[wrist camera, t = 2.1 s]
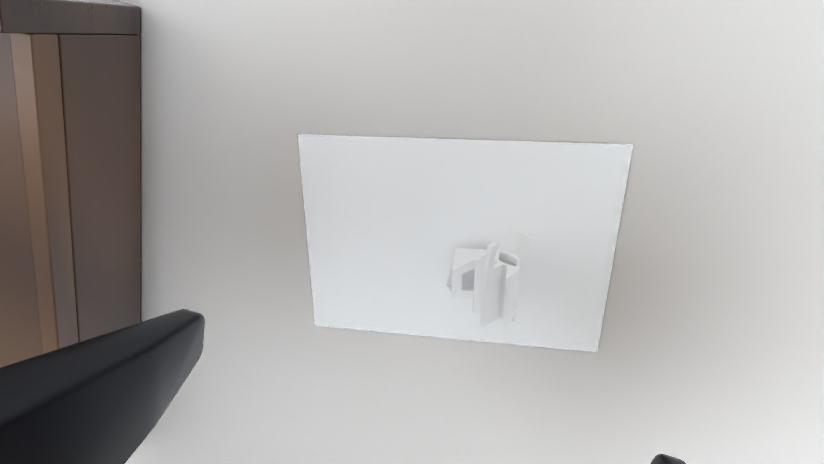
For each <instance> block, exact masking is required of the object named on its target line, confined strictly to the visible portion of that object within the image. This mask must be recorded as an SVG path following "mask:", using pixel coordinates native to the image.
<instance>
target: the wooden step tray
mask: <svg viewBox="0 0 824 464" xmlns="http://www.w3.org/2000/svg"><path fill="white" fill-rule="evenodd" d="M138 34H140V7H138V6H135V5H131V4H127V3H123V2H120V1H116V0H0V368H1V367H4V366H7V365H10V364H13V363H16V362H19V361H23V360H26V359H29V358H32V357H35V356H38V355H41V354H44V353H48V352H51V351H54V350H57V349H60V348H63V347H66V346H69V345H72V344H75V343H79V342H82V341H85V340H88V339H91V338H94V337H97V336H100V335H103V334H107V333H110V332H113V331H116V330H119V329H122V328H125V327H128V326H131V325H134V324H138V323H140V36H139V35H138Z"/></svg>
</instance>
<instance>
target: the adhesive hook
mask: <svg viewBox="0 0 824 464" xmlns="http://www.w3.org/2000/svg"><path fill="white" fill-rule="evenodd" d="M530 242H531V239H530V238H529V236H528V235H527V234H525V233H521V232H517V231H512V230H507V231H506V232H505V234H504V236H503V238H502V240H501V242H500V244H498V243H497V242H495V241H493V242H491V243H488V244H487V245H486V249H485V248H469V247H455V248H454V252H453V256H452V260H451V264H450V268H449V271H448V275H447V279H446V283H445V287H444V291H445V292H446V293H447V294H448V295H449V297H450V298H451V299H460V300H472V309H471V311H472V313H473V314H479V325H480V326H481V327H483V328H484V327H486V326H488V325H489V324H491V323H492V322H494V321H496V320H497V319H500V320H502V321H501V333H500V336H501V337H502V336H503V334H504V333H505V331H506V330H507V328H508V326H509V325H510V323H511V322H512V323H515V322H516V316H517V307H518V294H519V281H520V268H521V266H522V264H523V262H524V260H525V257H526V255H527V251H528V248H529V245H530Z"/></svg>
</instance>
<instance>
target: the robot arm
mask: <svg viewBox="0 0 824 464" xmlns="http://www.w3.org/2000/svg"><path fill="white" fill-rule="evenodd" d="M204 325H205V319H204V316H203V315H202V314H200V313H196V312H193V311H190V310H186V309H182V310H178V311H175V312H172V313H169V314H166V315H162V316H159V317H156V318H153V319H150V320H147V321H144V322H141V323H138V324H134V325H131V326H128V327H125V328H122V329H119V330H116V331H113V332H110V333H107V334H103V335H100V336H97V337H94V338H91V339H88V340H85V341H82V342H79V343H75V344H72V345H69V346H66V347H63V348H60V349H57V350H54V351H51V352H48V353H44V354H41V355H38V356H35V357H32V358H29V359H26V360H23V361H19V362H16V363H13V364H10V365H7V366H4V367H1V368H0V464H124V463H125V462H126V461H127V460H128V459H129V457H130V456H131V455H132V454H133V452H134V451H135V450H136V449H137V447H138V446H139V445H140V444H141V443H142V441H143V440H144V439H145V438H146V436H147V435H148V434H149V433H150V431H151V430H152V429H153V427H154V426H155V425H156V423H157V422H158V420H159V419H160V418H161V416H162V415H163V413H164V412H165V410H166V409H167V407H168V406H169V404H170V402H171V401H172V399H173V398H174V396H175V395H176V393H177V392H178V390H179V389H180V387H181V386H182V384H183V383H184V381H185V380H186V378H187V377H188V375H189V374H190V372H191V370H192V369H193V367H194V366H195V364H196V363H197V361H198V360H199V358H200V356H201V353H202V350H203V340H204ZM651 464H686V463H685V462H684V461H682V460H680V459H678V458H675V457H671V456H668V455H665V454H658V455H657V456H655V458H654V459H653V461H652V462H651Z"/></svg>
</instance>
